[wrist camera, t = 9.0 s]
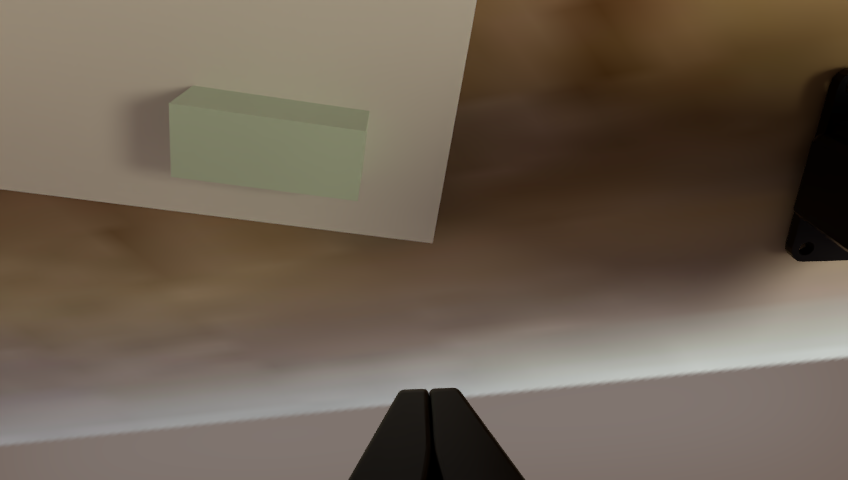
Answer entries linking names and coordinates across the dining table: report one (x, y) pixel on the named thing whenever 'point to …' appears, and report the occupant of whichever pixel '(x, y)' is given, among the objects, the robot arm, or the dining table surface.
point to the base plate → (238, 43)
